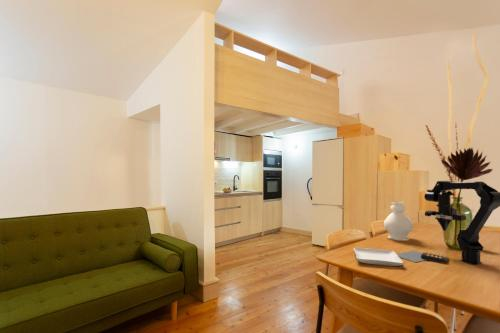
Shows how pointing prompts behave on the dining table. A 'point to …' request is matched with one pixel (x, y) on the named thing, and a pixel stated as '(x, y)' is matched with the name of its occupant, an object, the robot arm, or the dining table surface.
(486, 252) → the dining table surface
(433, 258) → the ammunition clip
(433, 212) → the robot arm
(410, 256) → the mat
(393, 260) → the salad plate
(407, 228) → the decorative vase
